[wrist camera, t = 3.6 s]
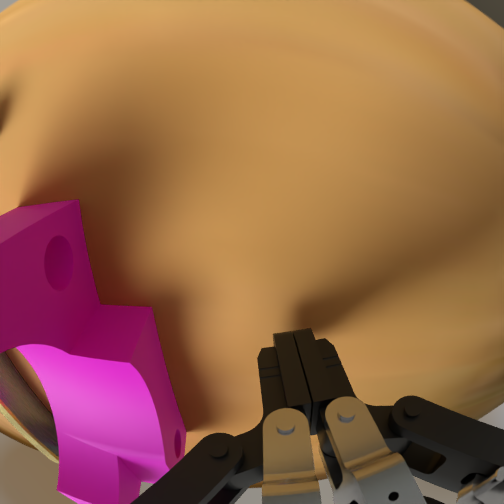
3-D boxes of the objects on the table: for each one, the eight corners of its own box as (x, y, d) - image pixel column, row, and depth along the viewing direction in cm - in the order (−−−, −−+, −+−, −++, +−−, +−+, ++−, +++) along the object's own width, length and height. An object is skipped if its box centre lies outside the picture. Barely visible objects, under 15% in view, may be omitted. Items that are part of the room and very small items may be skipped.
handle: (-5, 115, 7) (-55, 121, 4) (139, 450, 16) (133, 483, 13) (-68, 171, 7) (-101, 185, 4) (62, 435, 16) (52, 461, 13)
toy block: (186, 429, 15) (179, 528, 8) (103, 418, 15) (79, 504, 8) (138, 193, 9) (-14, 312, 2) (19, 206, 9) (-102, 284, 2)
